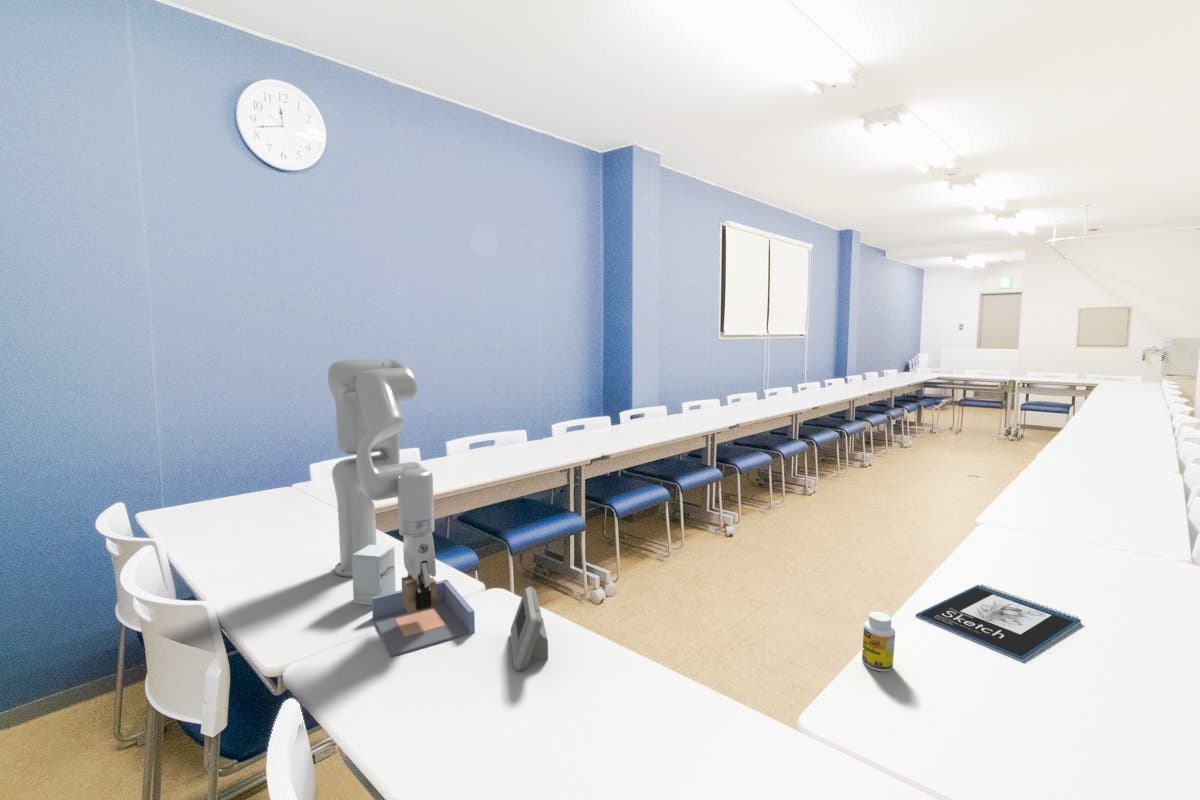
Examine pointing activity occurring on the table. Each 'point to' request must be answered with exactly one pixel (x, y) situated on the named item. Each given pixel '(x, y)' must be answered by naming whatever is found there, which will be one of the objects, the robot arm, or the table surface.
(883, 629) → the supplement bottle
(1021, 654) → the sketchbook
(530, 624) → the digital clock
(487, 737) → the table surface
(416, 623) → the arena
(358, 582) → the supplement box
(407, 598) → the brown cardboard box
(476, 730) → the table surface
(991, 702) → the table surface
